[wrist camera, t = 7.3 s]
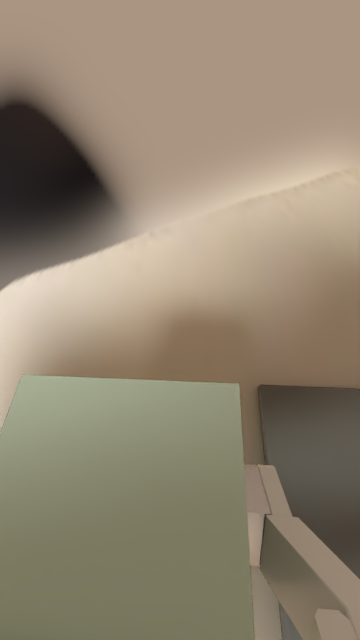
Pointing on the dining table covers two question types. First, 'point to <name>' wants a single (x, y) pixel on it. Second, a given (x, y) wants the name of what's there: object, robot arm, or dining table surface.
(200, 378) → the dining table surface
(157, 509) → the sage block
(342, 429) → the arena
